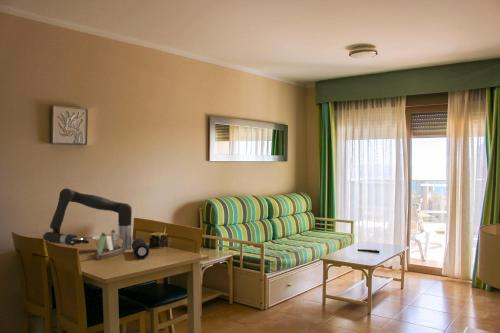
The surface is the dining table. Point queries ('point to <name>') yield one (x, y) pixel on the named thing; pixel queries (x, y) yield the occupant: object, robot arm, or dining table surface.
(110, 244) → the cream paddle
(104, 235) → the green lever
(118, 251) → the switch bank
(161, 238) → the candle
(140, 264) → the dining table surface
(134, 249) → the portable speaker
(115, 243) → the steel lever
